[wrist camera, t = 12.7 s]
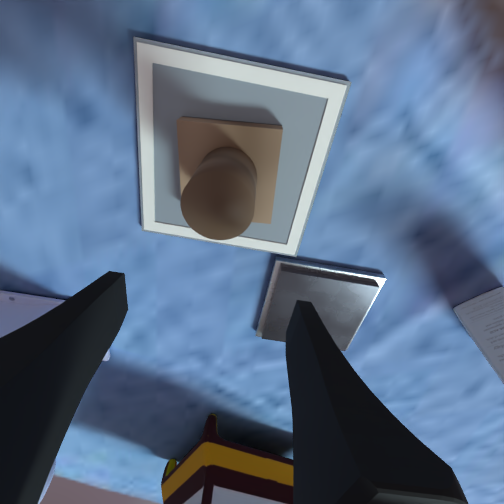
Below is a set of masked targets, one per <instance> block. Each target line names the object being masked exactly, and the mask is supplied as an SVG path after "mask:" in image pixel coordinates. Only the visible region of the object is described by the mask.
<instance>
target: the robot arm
mask: <svg viewBox="0 0 504 504" xmlns="http://www.w3.org/2000/svg"><path fill="white" fill-rule="evenodd" d="M127 311H128V304H127V294H126V284H125V274H124V273H119V272H112V271H109V272H107V273H106V274H104V275H103V276H101V277H100V278H98V279H97V280H95V281H94V282H93V283H91V284H90V285H88V286H87V287H85V288H84V289H82V290H81V291H79V292H78V293H77V294H75V295H73V296H72V297H70V298H69V299H67V300H60V299H54V298H47V297H41V296H34V295H28V294H21V293H15V292H8V291H0V504H40V502H41V500H42V499H43V497H44V495H45V493H46V491H47V489H48V487H49V484H50V482H51V480H52V477H53V474H54V471H55V466H56V456H57V453H58V451H59V448H60V446H61V443H62V441H63V439H64V437H65V434H66V432H67V430H68V427H69V425H70V423H71V420H72V418H73V416H74V414H75V411H76V409H77V407H78V405H79V403H80V401H81V398H82V396H83V394H84V392H85V390H86V388H87V386H88V384H89V382H90V381H91V379H92V377H93V375H94V374H95V372H96V370H97V369H98V367H99V365H100V363H101V362H102V361H108V360H109V359H110V351H109V348H110V346H111V344H112V343H113V341H114V339H115V337H116V336H117V334H118V332H119V330H120V328H121V325H122V323H123V321H124V318H125V316H126V313H127ZM286 362H287V371H288V380H289V388H290V397H291V405H292V417H293V504H468V502H467V499H466V497H465V495H464V493H463V490H462V488H461V486H460V484H459V482H458V480H457V478H456V476H455V474H454V472H453V470H452V468H451V467H450V466H449V465H447V464H446V463H445V462H444V461H443V460H442V459H441V458H439V457H438V456H437V455H436V454H435V453H434V452H432V451H431V450H430V449H429V448H428V447H427V446H425V445H424V444H423V443H422V442H421V441H420V440H419V439H418V438H416V437H415V436H414V435H413V434H412V433H411V432H410V431H409V430H408V429H407V428H406V427H405V426H404V425H403V424H402V423H401V422H400V421H399V420H398V419H397V418H396V417H395V416H394V415H393V414H392V413H391V412H390V411H389V410H388V409H387V408H386V407H385V406H384V405H383V404H382V402H381V401H380V400H379V399H378V398H377V397H376V396H375V395H374V394H373V393H372V391H371V390H370V389H369V388H368V387H367V386H366V384H365V383H364V382H363V381H362V379H361V378H360V377H359V376H358V375H357V373H356V372H355V371H354V369H353V368H352V367H351V365H350V364H349V362H348V361H347V360H346V358H345V357H344V355H343V354H342V352H341V351H340V349H339V348H338V346H337V345H336V343H335V342H334V340H333V338H332V337H331V335H330V334H329V332H328V330H327V329H326V327H325V325H324V323H323V322H322V320H321V318H320V316H319V315H318V313H317V311H316V309H315V307H314V306H313V304H312V302H309V301H302V300H297V301H296V304H295V307H294V310H293V313H292V316H291V319H290V322H289V325H288V328H287V330H286Z"/></svg>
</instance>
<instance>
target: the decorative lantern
mask: <svg viewBox="0 0 504 504" xmlns="http://www.w3.org/2000/svg"><path fill="white" fill-rule="evenodd" d="M161 488H162V497H163V503H164V504H293V460H292V459H289V458H285V457H282V456H278V455H275V454H272V453H268V452H265V451H261V450H258V449H255V448H251V447H248V446H244V445H241V444H237V443H234V442H231V441H227V440H224V439H223V438H221V437H220V436H219V435H218V432H217V417H216V415H215V414H210V415H209V416H208V418H207V420H206V423H205V427H204V431H203V434H202V437H201V439H200V441H199V442H198V443H197V444H196V445H195V446H194V448H193V449H192V450H191V451H190V452H189V453H188V454H187V455H186V456H185V457H184V458H183V459H182V460H181V461H180V462H179V463H178V464H177V462H176V460H175V459H170V460H169V461H168V463H167V465H166V467H165V470H164V474H163V478H162V482H161Z"/></svg>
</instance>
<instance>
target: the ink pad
mask: <svg viewBox="0 0 504 504" xmlns="http://www.w3.org/2000/svg"><path fill="white" fill-rule="evenodd" d="M385 280H386V278H385V276H384V274H379V273H373V272H367V271H361V270H355V269H349V268H343V267H337V266H332V265H326V264H320V263H314V262H308V261H302V260H296V259H290V258H284V257H278V256H276V258H275V262H274V265H273V269H272V273H271V277H270V280H269V284H268V288H267V292H266V295H265V299H264V303H263V306H262V310H261V314H260V318H259V321H258V325H257V329H256V336H258V337H262V339H268V340H275V341H282V342H286V330H287V328H288V325H289V322H290V319H291V316H292V313H293V310H294V307H295V304H296V301H297V300H302V301H309V302H312V304H313V306H314V307H315V309H316V311H317V313H318V315H319V316H320V318H321V320H322V322H323V323H324V325H325V327H326V329H327V330H328V332H329V334H330V335H331V337H332V338H333V340H334V342H335V343H336V345H337V346H338V348H339V349H340V350H341V351H345V350H347V349H348V347H349V345H350V343H351V342H352V340H353V338H354V336H355V334H356V332H357V331H358V329H359V327H360V325H361V323H362V322H363V320H364V318H365V316H366V314H367V313H368V311H369V309H370V307H371V305H372V304H373V302H374V300H375V298H376V296H377V295H378V293H379V291H380V289H381V287H382V286H383V284H384V282H385Z"/></svg>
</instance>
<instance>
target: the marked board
mask: <svg viewBox="0 0 504 504" xmlns="http://www.w3.org/2000/svg"><path fill="white" fill-rule="evenodd" d="M133 40H134V63H135V86H136V109H137V132H138V155H139V178H140V200H141V223H142V231H146V232H152V233H158V234H164V235H170V236H176V237H182V238H188V239H194V240H199V241H205V242H211V243H217V244H223V245H229V246H235V247H241V248H246V249H252V250H258V251H264V252H270V253H276V254H282V255H288V256H294V257H296V256H297V253H298V250H299V247H300V244H301V240H302V237H303V234H304V231H305V228H306V225H307V221H308V218H309V215H310V212H311V209H312V206H313V202H314V199H315V196H316V193H317V190H318V187H319V183H320V180H321V177H322V174H323V171H324V168H325V164H326V161H327V158H328V155H329V152H330V149H331V145H332V142H333V139H334V136H335V133H336V130H337V126H338V123H339V120H340V117H341V114H342V111H343V107H344V104H345V101H346V98H347V95H348V92H349V88H350V85H351V82H349V81H344V80H340V79H335V78H330V77H325V76H320V75H316V74H311V73H306V72H301V71H296V70H292V69H287V68H282V67H277V66H272V65H268V64H263V63H258V62H253V61H248V60H244V59H239V58H234V57H229V56H224V55H220V54H215V53H210V52H205V51H200V50H196V49H191V48H186V47H181V46H177V45H172V44H167V43H162V42H157V41H153V40H148V39H143V38H138V37H133ZM182 116H189V117H200V118H210V119H221V120H232V121H243V122H254V123H265V124H276V125H282V128H283V133H282V141H281V149H280V157H279V164H278V172H277V180H276V188H275V196H274V204H273V211H272V219H271V224H265V223H254V222H251V224H250V225H249V227H248V228H247V229H246V230H245V231H244V232H243V233H242V234H240V235H239V236H237V237H235V238H232V239H228V240H213V239H209V238H206V237H203V236H201V235H200V234H198V233H196V232H195V231H194V230H193V229H192V228H191V227H190V226H189V225H188V224H187V222H186V221H185V219H184V217H183V216H182V211H181V206H180V201H181V186H180V170H179V154H178V138H177V122H176V120H177V119H179V118H180V117H182Z"/></svg>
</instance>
